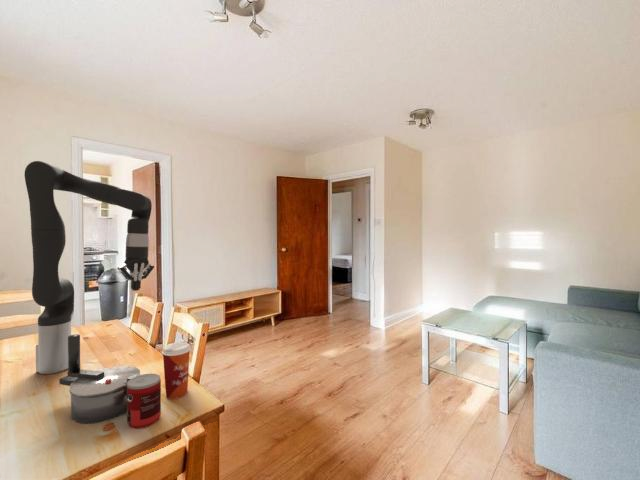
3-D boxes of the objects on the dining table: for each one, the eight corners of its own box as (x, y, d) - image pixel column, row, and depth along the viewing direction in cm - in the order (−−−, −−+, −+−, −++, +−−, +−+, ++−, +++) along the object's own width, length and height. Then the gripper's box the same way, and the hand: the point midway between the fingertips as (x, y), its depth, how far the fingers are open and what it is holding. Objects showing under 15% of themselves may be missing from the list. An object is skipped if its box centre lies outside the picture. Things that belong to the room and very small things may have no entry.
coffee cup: (179, 402, 91) (179, 352, 91) (155, 399, 93) (155, 349, 92) (196, 388, 99) (196, 342, 99) (174, 385, 101) (174, 340, 101)
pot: (161, 397, 93) (161, 375, 93) (114, 430, 78) (114, 403, 78) (90, 386, 100) (90, 365, 100) (34, 414, 85) (33, 389, 84)
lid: (159, 371, 95) (159, 331, 94) (115, 400, 78) (114, 351, 78) (95, 366, 99) (95, 327, 98) (40, 392, 82) (39, 345, 82)
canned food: (136, 412, 86) (135, 373, 85) (165, 411, 86) (165, 372, 86) (120, 430, 78) (120, 387, 78) (153, 428, 79) (153, 386, 78)
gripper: (123, 245, 110) (122, 293, 110) (159, 245, 121) (158, 289, 121) (113, 244, 114) (111, 291, 114) (149, 245, 125) (147, 287, 125)
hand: (135, 290), depth 118 cm, fingers closed
